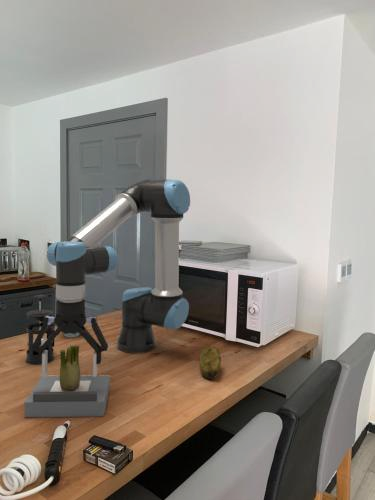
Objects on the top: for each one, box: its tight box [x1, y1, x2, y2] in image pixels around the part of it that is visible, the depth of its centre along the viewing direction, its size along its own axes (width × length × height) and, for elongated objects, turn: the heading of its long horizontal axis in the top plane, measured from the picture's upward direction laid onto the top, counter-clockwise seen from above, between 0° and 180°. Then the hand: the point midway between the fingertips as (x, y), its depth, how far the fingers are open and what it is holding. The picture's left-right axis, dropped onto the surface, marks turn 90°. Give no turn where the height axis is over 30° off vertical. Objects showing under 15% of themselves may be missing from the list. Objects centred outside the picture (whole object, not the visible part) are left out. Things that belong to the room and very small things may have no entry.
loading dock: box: [24, 374, 111, 418], centre depth 111 cm, size 20×17×6 cm
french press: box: [25, 294, 56, 366], centre depth 139 cm, size 12×9×23 cm
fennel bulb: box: [59, 345, 81, 390], centre depth 109 cm, size 6×5×12 cm
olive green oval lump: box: [199, 346, 222, 380], centre depth 133 cm, size 8×13×8 cm, turn 162°
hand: (70, 375), depth 109 cm, fingers open, 13 cm apart
